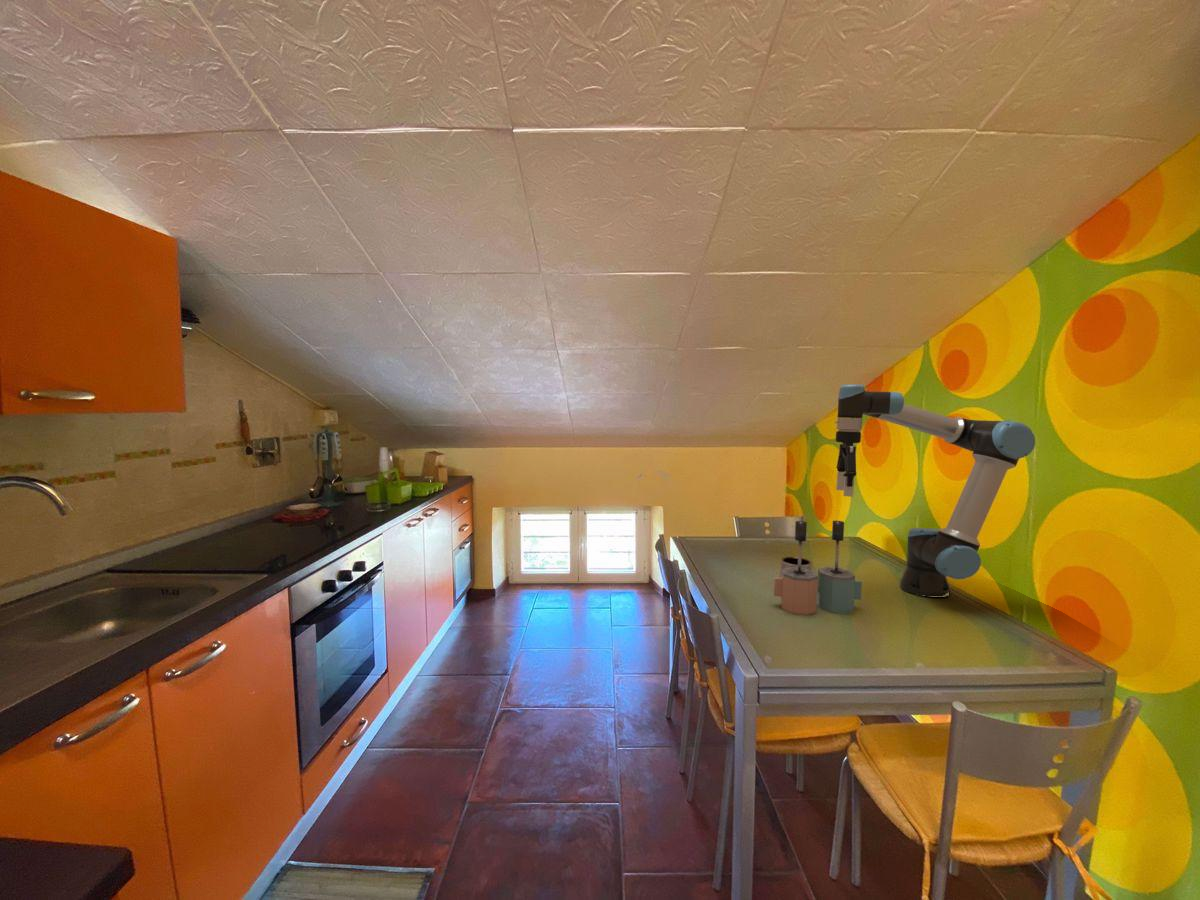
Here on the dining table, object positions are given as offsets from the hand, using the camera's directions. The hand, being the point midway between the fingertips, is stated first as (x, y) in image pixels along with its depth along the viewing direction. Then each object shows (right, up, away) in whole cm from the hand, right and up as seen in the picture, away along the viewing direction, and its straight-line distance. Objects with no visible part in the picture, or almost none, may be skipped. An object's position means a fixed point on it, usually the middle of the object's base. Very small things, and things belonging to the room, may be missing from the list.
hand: (844, 493), depth 162 cm
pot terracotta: (-18, -38, -3) cm, 42 cm away
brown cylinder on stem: (-17, -29, -4) cm, 34 cm away
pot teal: (-4, -38, -3) cm, 38 cm away
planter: (-10, -37, +17) cm, 41 cm away
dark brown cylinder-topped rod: (-5, -29, -4) cm, 29 cm away
